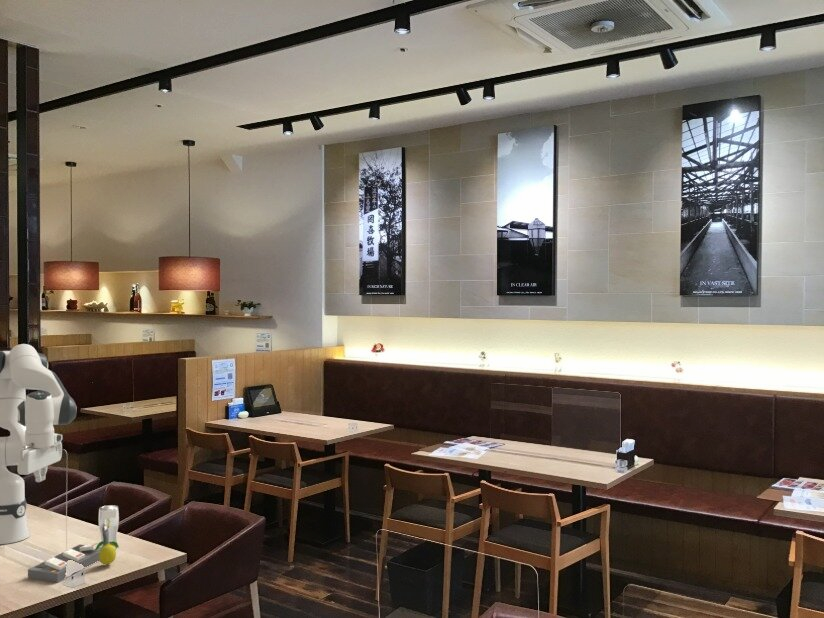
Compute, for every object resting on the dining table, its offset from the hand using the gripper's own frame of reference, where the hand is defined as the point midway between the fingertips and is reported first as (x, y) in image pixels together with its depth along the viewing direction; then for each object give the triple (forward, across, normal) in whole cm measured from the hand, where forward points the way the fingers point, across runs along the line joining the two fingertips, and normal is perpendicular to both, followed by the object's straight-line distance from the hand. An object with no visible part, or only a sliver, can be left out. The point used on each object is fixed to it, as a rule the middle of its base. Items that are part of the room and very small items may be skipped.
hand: (40, 481), depth 249 cm
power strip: (+31, +5, -7) cm, 32 cm away
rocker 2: (+27, +4, -9) cm, 29 cm away
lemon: (+31, +7, -20) cm, 38 cm away
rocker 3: (+27, +12, -11) cm, 31 cm away
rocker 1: (+27, -4, -7) cm, 28 cm away
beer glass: (+31, +23, -12) cm, 41 cm away
